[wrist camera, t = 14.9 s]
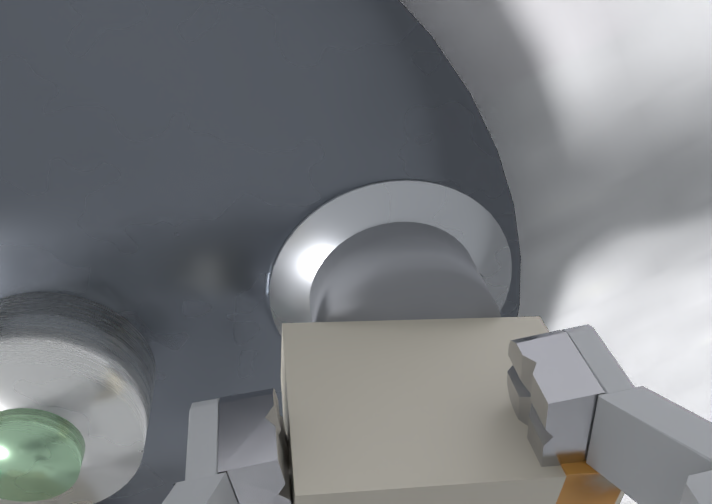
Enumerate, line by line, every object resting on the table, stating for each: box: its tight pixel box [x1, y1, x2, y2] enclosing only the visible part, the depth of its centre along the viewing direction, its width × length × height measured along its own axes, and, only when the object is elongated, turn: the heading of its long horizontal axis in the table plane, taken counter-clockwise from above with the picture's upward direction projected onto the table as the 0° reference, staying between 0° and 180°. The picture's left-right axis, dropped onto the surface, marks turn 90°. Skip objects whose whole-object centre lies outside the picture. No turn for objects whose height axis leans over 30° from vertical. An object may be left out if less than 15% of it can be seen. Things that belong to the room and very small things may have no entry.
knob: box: [281, 222, 624, 504], centre depth 14 cm, size 6×4×6 cm
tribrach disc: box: [0, 0, 521, 504], centre depth 16 cm, size 25×25×5 cm
